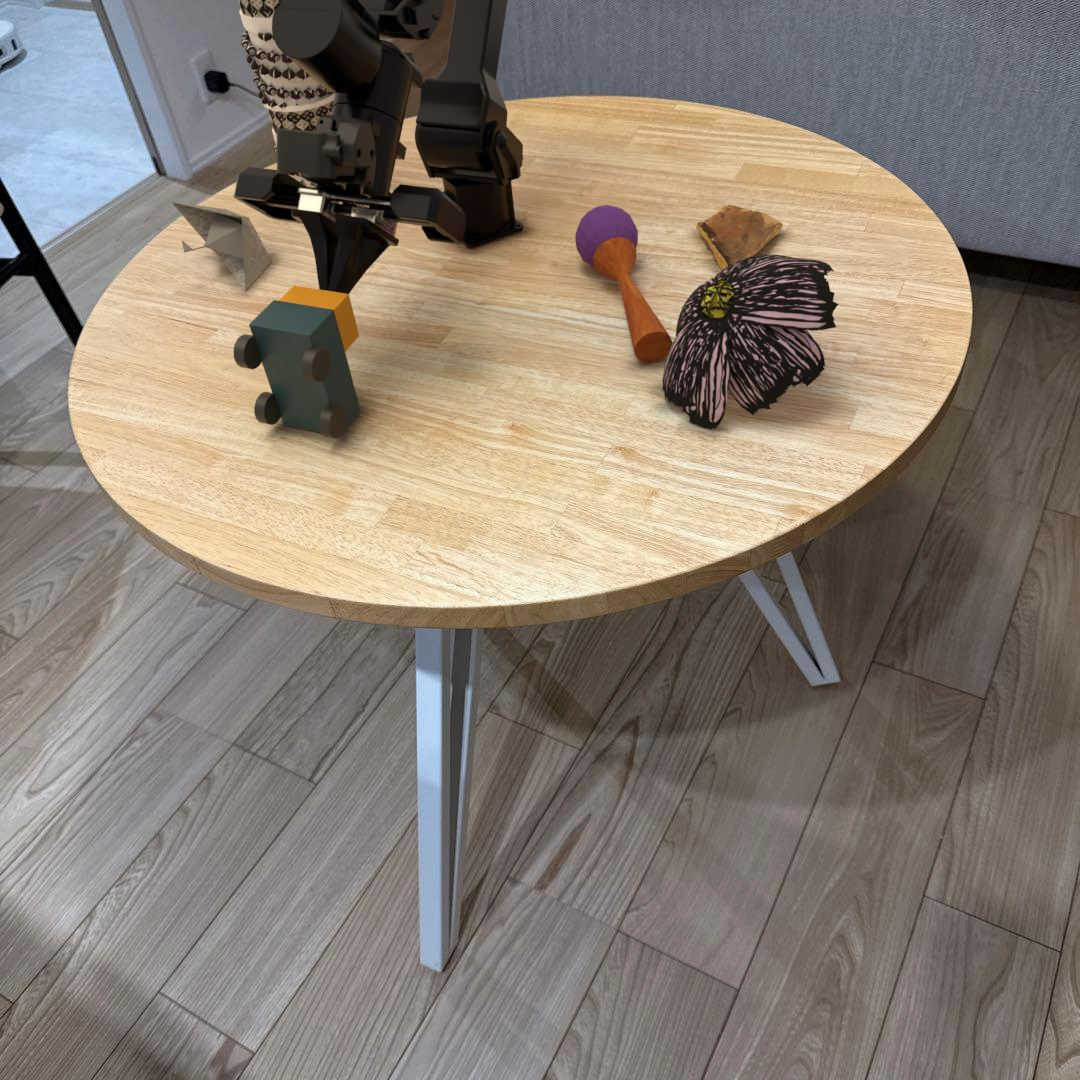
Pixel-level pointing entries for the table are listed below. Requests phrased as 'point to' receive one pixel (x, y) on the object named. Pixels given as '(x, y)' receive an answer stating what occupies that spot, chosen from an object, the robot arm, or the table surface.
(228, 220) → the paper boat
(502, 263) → the table surface
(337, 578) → the table surface
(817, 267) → the decorative flower
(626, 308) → the purple and orange maraca
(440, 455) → the table surface
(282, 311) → the toy truck
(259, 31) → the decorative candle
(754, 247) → the shard
